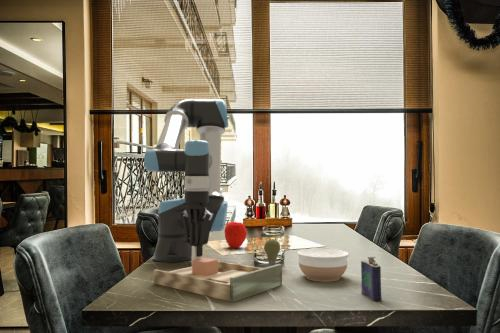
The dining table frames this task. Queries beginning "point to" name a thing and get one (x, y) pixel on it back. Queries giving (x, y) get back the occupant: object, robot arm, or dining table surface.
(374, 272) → the flask
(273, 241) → the light bulb
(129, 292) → the dining table surface
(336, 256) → the bowl
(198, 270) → the block
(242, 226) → the apple
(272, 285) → the box
